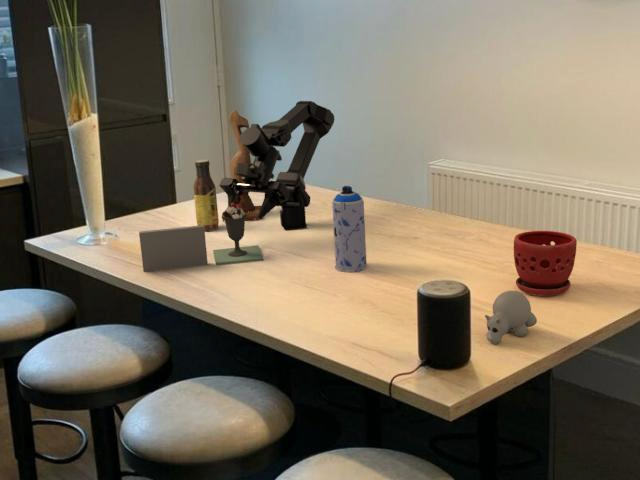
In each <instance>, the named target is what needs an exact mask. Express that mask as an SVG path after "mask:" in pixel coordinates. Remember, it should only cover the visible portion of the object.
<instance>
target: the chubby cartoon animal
mask: <svg viewBox="0 0 640 480" xmlns="http://www.w3.org/2000/svg"><path fill="white" fill-rule="evenodd" d="M492 314H493V315H492V316H491V315H490V316H489V315H487V314H485V315H484V317H485V319H486V328H487V331H486V332H485V336H486V339H487V340H488V342H489V343H490V344H492V345H496V344H499V343H500V342H501V341H502V338H503V336H504V335H505V334H508V333H512V332H514V334H515V335H516V336H517V337H518V338H522V337H525V336H527V335H528V333H529V328H532V327H534V326H535V325H537V321H538V320H537V317H536V315H535V314H534V313H533V312H532V307H531V303H530V301H529V299H528V298H527V296H526V295H525V294H524V293H522V292H520V291H517V290H506V291H503V292H501V293H500V294H499V295H498V296H497V297H496V298H495V299H494V301H493V304H492Z"/></svg>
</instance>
